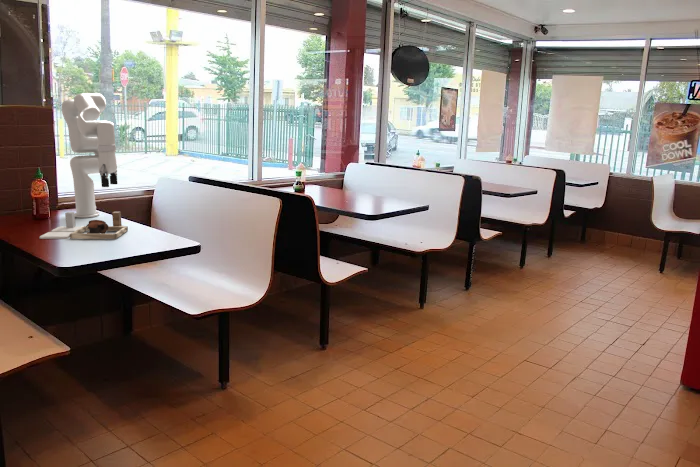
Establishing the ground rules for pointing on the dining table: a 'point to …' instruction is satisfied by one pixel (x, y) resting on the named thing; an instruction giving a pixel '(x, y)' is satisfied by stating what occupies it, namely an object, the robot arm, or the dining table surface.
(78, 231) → the beige rectangular tray
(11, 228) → the dining table surface
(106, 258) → the dining table surface
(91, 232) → the brown rounded lump
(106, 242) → the dining table surface
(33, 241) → the dining table surface
